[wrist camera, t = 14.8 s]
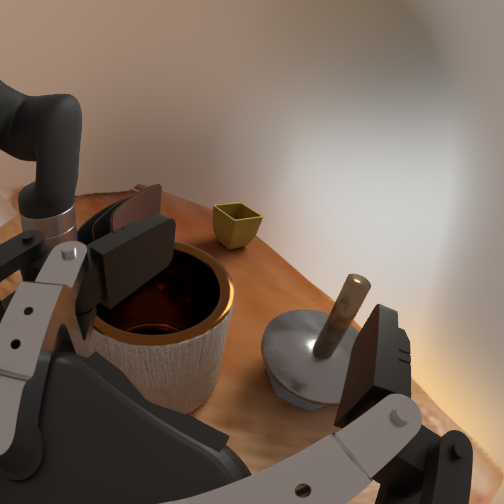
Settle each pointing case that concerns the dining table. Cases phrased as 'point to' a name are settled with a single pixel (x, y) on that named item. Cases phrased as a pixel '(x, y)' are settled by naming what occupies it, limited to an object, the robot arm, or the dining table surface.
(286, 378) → the spindle on round base
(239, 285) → the dining table surface
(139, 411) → the robot arm
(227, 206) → the flower pot
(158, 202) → the letter holder
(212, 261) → the planter
